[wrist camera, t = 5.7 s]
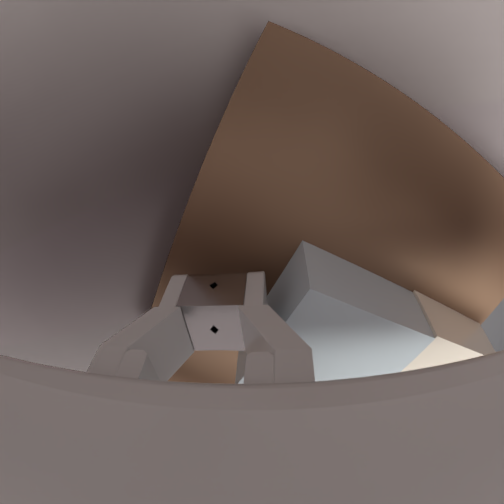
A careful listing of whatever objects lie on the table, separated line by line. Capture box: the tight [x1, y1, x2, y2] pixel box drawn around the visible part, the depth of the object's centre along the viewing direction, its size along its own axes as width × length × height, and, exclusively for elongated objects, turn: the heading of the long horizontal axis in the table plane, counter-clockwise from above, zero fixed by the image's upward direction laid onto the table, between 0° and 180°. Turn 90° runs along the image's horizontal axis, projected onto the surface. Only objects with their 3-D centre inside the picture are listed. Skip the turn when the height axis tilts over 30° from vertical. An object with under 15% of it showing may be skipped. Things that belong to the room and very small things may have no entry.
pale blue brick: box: [235, 240, 435, 384], centre depth 11 cm, size 5×5×2 cm
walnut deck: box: [151, 21, 504, 384], centre depth 14 cm, size 16×14×4 cm
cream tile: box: [401, 290, 495, 372], centre depth 12 cm, size 5×5×2 cm
